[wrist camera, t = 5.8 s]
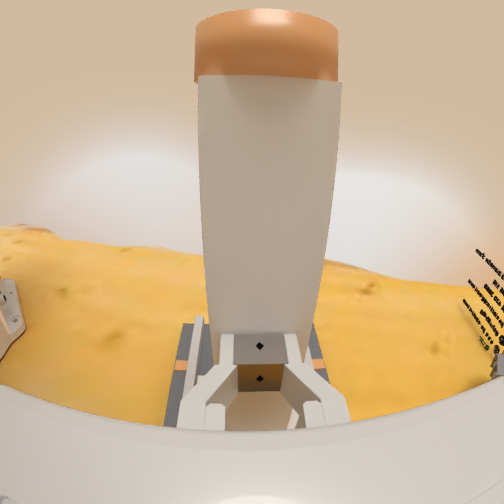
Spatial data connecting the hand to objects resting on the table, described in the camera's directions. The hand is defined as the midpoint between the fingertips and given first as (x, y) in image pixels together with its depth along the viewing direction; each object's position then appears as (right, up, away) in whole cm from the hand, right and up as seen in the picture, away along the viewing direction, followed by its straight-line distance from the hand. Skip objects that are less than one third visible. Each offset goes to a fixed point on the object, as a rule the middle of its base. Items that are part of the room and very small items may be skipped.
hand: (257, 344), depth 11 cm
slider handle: (0, -10, +8) cm, 12 cm away
